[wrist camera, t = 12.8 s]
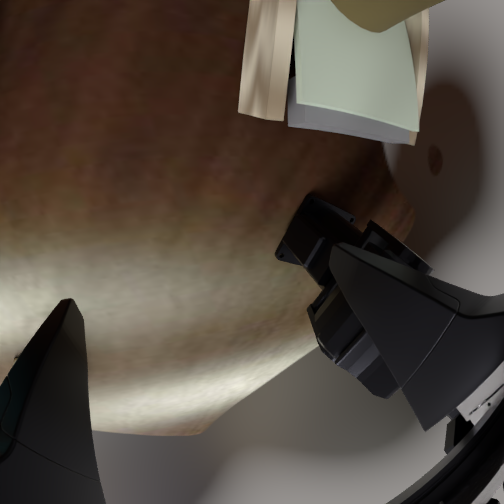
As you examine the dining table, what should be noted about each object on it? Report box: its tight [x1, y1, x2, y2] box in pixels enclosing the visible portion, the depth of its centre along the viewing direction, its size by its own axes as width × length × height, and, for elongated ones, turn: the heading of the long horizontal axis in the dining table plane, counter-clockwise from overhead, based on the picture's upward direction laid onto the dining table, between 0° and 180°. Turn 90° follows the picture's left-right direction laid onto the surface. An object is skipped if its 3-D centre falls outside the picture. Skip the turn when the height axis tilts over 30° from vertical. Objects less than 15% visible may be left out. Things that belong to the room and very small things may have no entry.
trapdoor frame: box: [238, 0, 429, 146], centre depth 13 cm, size 16×13×5 cm
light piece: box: [287, 0, 419, 144], centre depth 12 cm, size 15×10×3 cm, turn 175°
